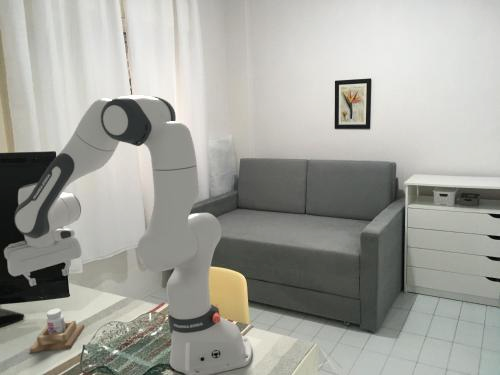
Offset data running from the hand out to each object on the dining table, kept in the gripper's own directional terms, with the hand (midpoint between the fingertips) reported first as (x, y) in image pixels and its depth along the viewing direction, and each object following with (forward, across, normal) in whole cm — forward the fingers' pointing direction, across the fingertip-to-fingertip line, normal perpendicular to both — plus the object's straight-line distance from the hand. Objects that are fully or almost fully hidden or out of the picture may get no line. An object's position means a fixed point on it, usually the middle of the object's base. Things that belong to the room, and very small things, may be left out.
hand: (50, 279), depth 127 cm
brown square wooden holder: (+19, -1, 0) cm, 19 cm away
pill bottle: (+19, -1, 0) cm, 19 cm away
